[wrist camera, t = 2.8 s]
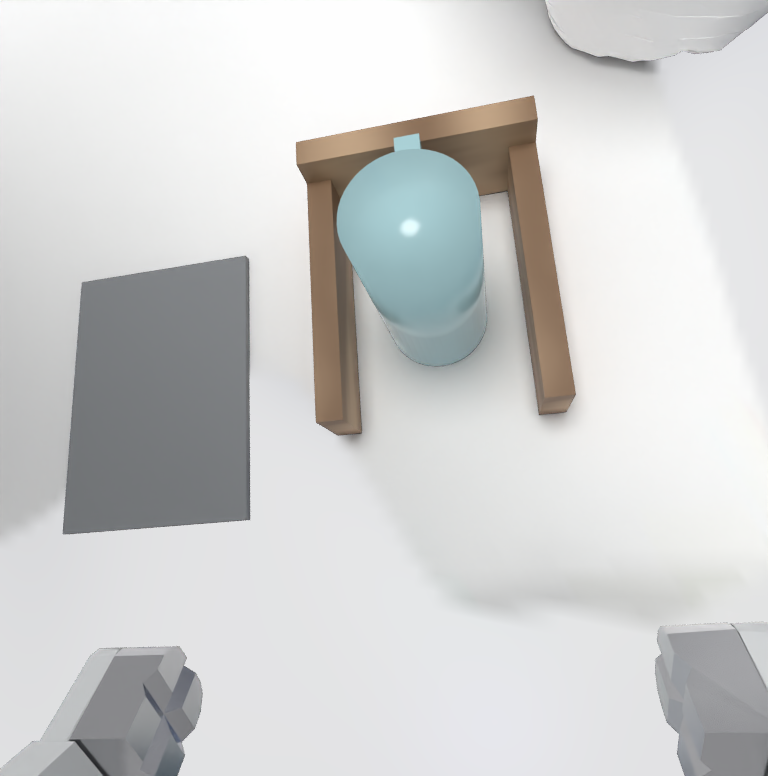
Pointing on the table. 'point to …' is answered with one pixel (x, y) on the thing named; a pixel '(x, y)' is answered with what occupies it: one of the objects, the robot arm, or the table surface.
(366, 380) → the table surface
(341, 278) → the holder
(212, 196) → the table surface
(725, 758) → the robot arm
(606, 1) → the white crumpled mass
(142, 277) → the mat
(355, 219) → the pale blue domed cylinder
